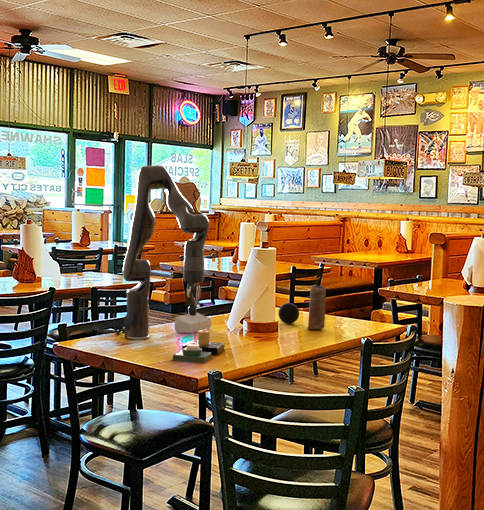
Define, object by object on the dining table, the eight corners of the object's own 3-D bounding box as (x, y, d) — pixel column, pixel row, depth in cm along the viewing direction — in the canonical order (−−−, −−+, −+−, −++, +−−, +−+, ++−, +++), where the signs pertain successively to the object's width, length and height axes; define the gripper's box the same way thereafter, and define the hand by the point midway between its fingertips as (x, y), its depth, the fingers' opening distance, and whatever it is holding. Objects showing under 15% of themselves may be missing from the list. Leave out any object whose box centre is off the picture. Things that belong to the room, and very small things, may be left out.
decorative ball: (303, 323, 335) (303, 303, 335) (289, 326, 329) (289, 305, 328) (287, 321, 343) (288, 300, 342) (273, 323, 336) (274, 302, 335)
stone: (212, 330, 317) (212, 312, 313) (185, 346, 306) (185, 327, 301) (195, 321, 324) (195, 303, 319) (168, 337, 312) (168, 318, 307)
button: (185, 350, 254) (185, 345, 254) (189, 348, 258) (189, 343, 258) (196, 351, 253) (196, 346, 253) (199, 349, 257) (199, 344, 257)
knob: (207, 345, 267) (208, 331, 266) (196, 344, 268) (196, 331, 267) (210, 343, 271) (210, 329, 271) (199, 342, 272) (199, 329, 272)
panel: (182, 353, 267) (182, 344, 266) (190, 347, 276) (190, 340, 276) (217, 355, 263) (217, 347, 263) (224, 350, 273) (224, 342, 272)
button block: (172, 360, 253) (172, 350, 253) (180, 355, 262) (180, 345, 262) (204, 363, 250) (204, 352, 250) (211, 358, 259) (211, 347, 259)
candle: (323, 328, 325) (325, 285, 323) (325, 331, 317) (327, 287, 316) (307, 327, 325) (308, 285, 323) (308, 330, 318) (310, 287, 316)
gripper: (189, 266, 263) (188, 311, 265) (178, 269, 251) (177, 317, 252) (208, 267, 261) (207, 313, 263) (198, 271, 249) (197, 319, 250)
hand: (192, 315), depth 258 cm, fingers closed
